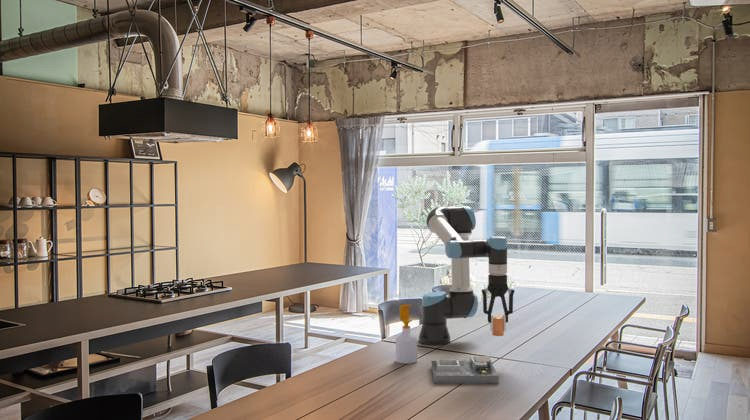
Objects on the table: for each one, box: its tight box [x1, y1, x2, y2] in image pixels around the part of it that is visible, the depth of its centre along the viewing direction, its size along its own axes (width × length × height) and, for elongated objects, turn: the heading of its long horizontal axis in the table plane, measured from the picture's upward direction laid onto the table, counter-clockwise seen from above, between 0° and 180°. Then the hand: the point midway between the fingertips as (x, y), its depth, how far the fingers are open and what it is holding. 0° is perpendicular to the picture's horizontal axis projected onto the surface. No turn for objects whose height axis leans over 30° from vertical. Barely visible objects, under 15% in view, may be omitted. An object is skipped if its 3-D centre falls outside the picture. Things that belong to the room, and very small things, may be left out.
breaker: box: [473, 355, 490, 363], centre depth 242 cm, size 9×5×2 cm, turn 178°
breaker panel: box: [430, 355, 500, 385], centre depth 241 cm, size 20×24×6 cm
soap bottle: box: [395, 304, 418, 365], centre depth 262 cm, size 9×9×25 cm
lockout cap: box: [491, 316, 505, 337], centre depth 254 cm, size 5×5×7 cm
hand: (497, 330), depth 254 cm, fingers closed on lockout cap, 4 cm apart
